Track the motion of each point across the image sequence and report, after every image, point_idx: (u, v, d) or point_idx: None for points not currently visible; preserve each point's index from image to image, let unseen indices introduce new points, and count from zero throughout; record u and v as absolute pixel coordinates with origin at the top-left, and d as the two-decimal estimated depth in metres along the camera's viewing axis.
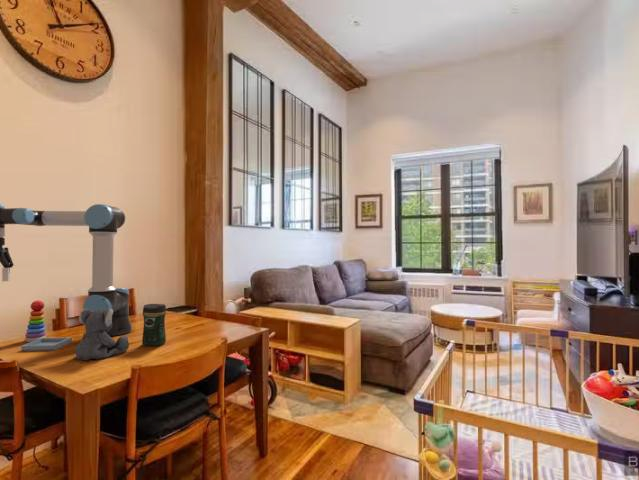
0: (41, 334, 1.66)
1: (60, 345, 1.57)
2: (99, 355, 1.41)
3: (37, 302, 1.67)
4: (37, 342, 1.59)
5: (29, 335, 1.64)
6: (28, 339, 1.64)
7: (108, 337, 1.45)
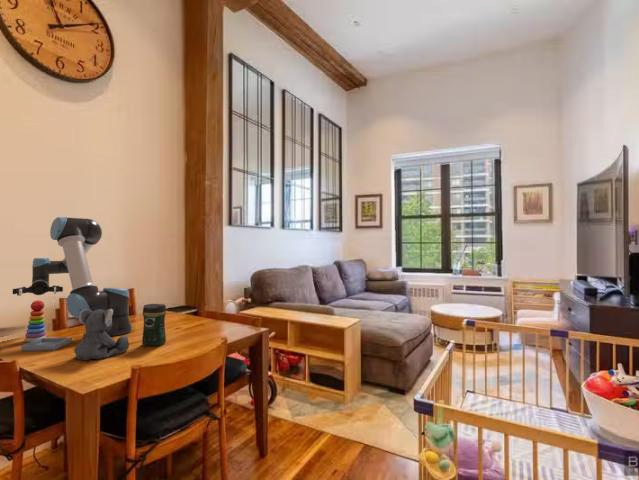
0: (41, 334, 1.66)
1: (60, 345, 1.57)
2: (99, 355, 1.41)
3: (37, 302, 1.67)
4: (37, 342, 1.59)
5: (29, 335, 1.64)
6: (28, 339, 1.64)
7: (108, 337, 1.45)
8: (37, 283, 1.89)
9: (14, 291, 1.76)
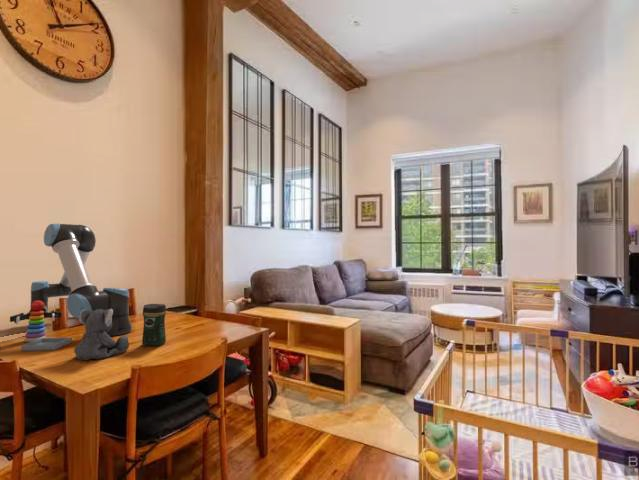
0: (41, 334, 1.66)
1: (60, 345, 1.57)
2: (99, 355, 1.41)
3: (37, 302, 1.67)
4: (37, 342, 1.59)
5: (29, 335, 1.64)
6: (28, 339, 1.64)
7: (108, 337, 1.45)
8: None
9: (11, 319, 1.72)
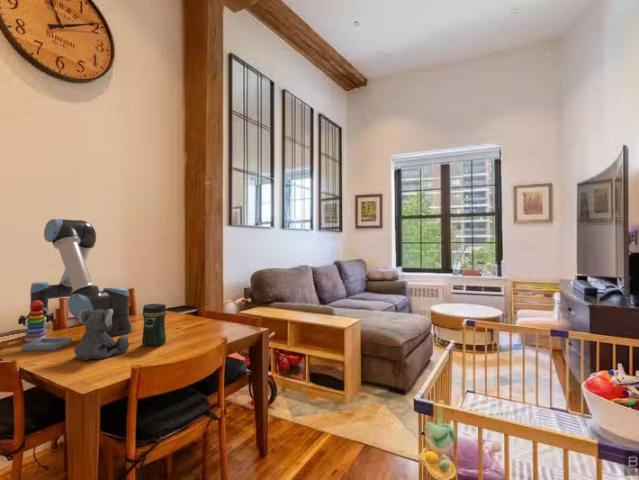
0: (41, 334, 1.66)
1: (60, 345, 1.57)
2: (99, 355, 1.41)
3: (36, 302, 1.66)
4: (37, 342, 1.59)
5: (29, 335, 1.64)
6: (28, 339, 1.64)
7: (108, 337, 1.45)
8: None
9: (20, 321, 1.66)
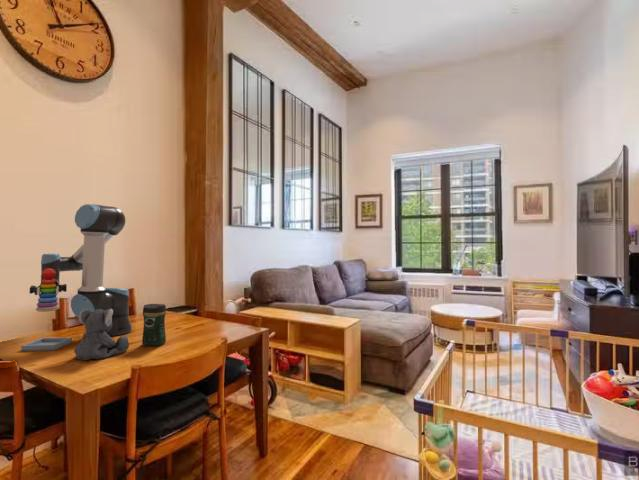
0: (53, 304, 1.57)
1: (60, 345, 1.57)
2: (99, 355, 1.41)
3: (48, 270, 1.57)
4: (37, 342, 1.59)
5: (41, 304, 1.55)
6: (40, 308, 1.54)
7: (108, 337, 1.45)
8: None
9: (31, 290, 1.57)
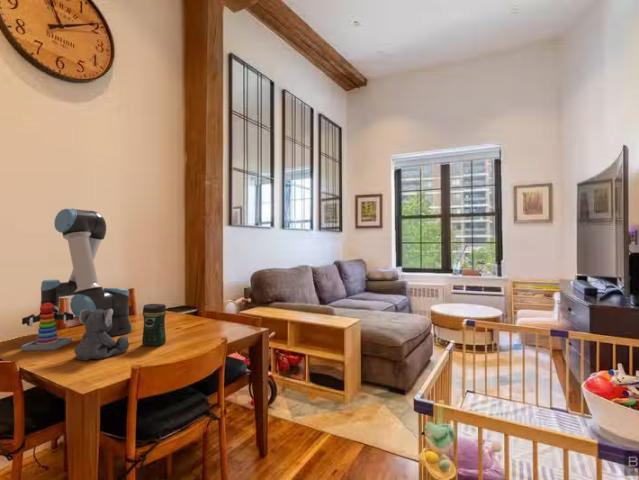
0: (53, 338, 1.57)
1: (60, 345, 1.57)
2: (99, 355, 1.41)
3: (46, 305, 1.56)
4: None
5: (41, 340, 1.54)
6: (40, 344, 1.54)
7: (108, 337, 1.45)
8: None
9: (24, 321, 1.56)
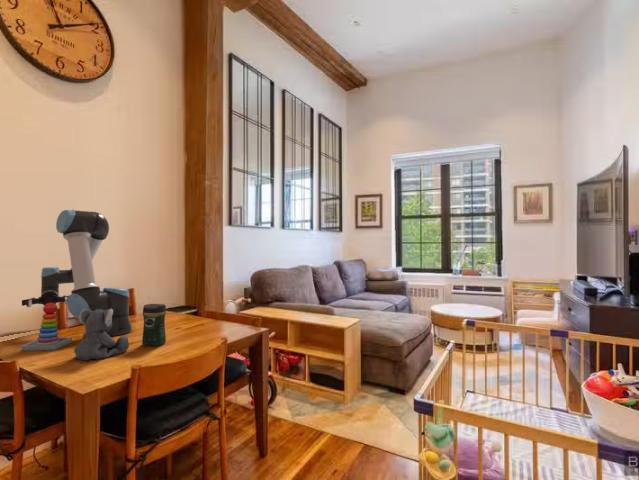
0: (54, 338, 1.57)
1: (60, 345, 1.57)
2: (99, 355, 1.41)
3: (50, 304, 1.57)
4: None
5: (41, 339, 1.54)
6: (40, 344, 1.54)
7: (108, 337, 1.45)
8: (47, 293, 1.80)
9: (23, 302, 1.67)
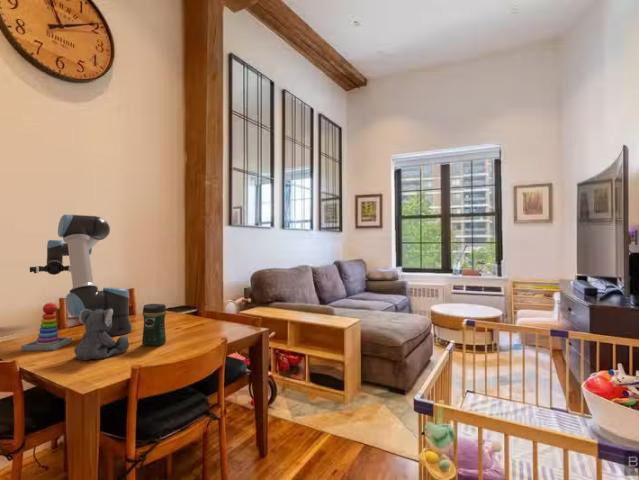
0: (53, 338, 1.57)
1: (60, 345, 1.57)
2: (99, 355, 1.41)
3: (49, 304, 1.57)
4: None
5: (41, 340, 1.54)
6: (40, 344, 1.54)
7: (108, 337, 1.45)
8: (52, 263, 1.97)
9: (31, 269, 1.84)
